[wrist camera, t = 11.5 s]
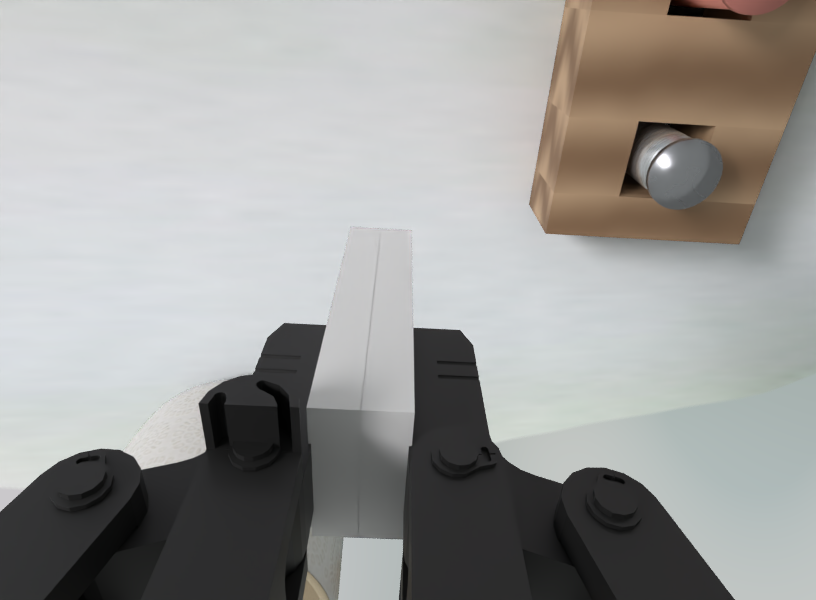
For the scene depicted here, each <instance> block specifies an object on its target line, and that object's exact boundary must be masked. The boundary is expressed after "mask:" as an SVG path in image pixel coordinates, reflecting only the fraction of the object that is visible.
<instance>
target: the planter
mask: <svg viewBox="0 0 816 600" xmlns="http://www.w3.org/2000/svg"><path fill="white" fill-rule="evenodd" d="M224 381H227V380H220V381H213V382H209V383H205V384H202V385H198V386H195V387H193V388H190V389H188V390H186V391H184V392H182V393H180V394H178V395H177V396H175V397H173V398H172V399H170V400H169V401H168V402H166V403H165V404H164V405H162V406H161V407H160V408H159V409H158V410H157V411H156V412H155V413H154V414H153V415H152V416H151V417H150V418H149V419H148V420H147V421H146V422H145V424H144V425H143V426H142V427H141V428H140V429H139V430H138V432H137V433H136V434H135V435H134V437H133V438H132V439H131V441H130V442H129V444H128V445H127V446H126V448H125V449H124V450H123V452H125V453H127V454H129V455H131V456H133V457H134V458H135V459H136V461H137V463H138V464H139V466H140V467H141V470H143V469H148V468H153V467H158V466H162V465H167V464H172V463H177V462H181V461H184V460H188V459H191V458H194V457H196V456H198V455H200V454H202V453H205V451H206V444H205V438H204V432H203V427H202V421H201V415H200V409H199V404H198V403H199V402H200V401H201V399H202V398H203V397H204V396H205V395H206V393H207V392H208V391H209V390H211V389H212V388H214V387H216V386H217V385H219V384H221V383H222V382H224ZM342 547H343V537H328V536H312V522H311V528H310V533H309V539H308V545H307V561H308V571H307V577H306V583H305V589H304V595H303V600H338V594H339V582H340V571H341V558H342Z"/></svg>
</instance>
